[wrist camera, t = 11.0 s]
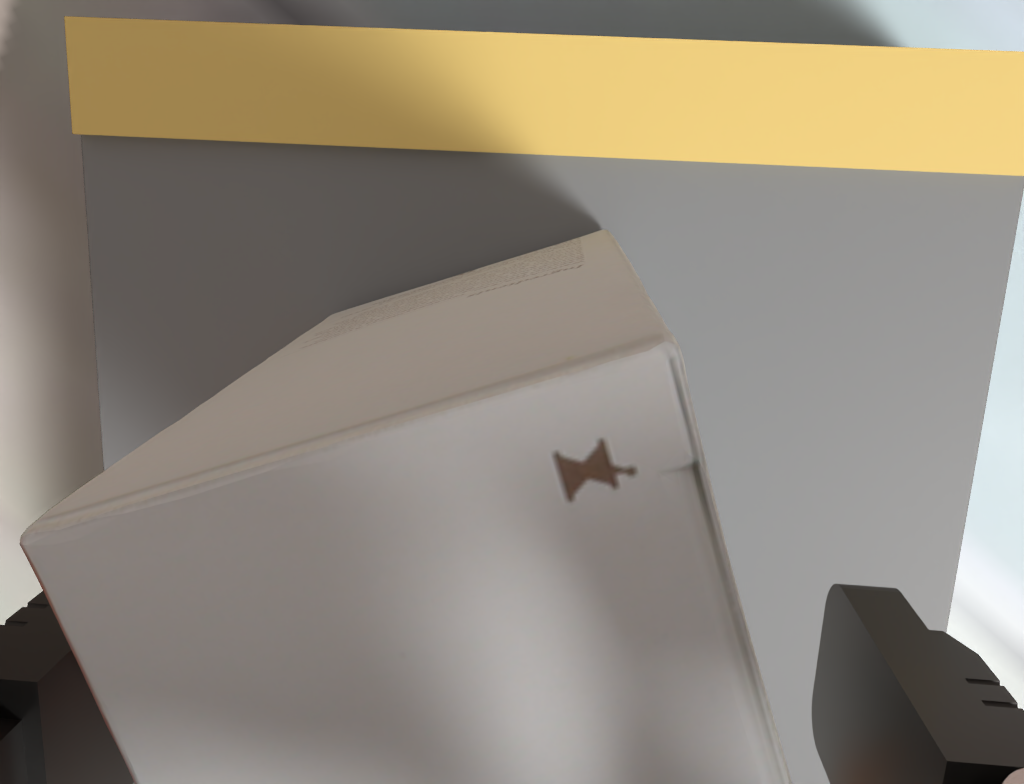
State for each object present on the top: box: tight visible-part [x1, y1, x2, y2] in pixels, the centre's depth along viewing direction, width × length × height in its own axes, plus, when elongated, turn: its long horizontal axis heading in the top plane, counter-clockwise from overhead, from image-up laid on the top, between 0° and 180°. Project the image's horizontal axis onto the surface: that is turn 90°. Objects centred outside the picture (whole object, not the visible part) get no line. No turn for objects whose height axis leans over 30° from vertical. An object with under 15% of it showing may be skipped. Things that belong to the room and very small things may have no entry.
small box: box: [20, 229, 792, 784], centre depth 13 cm, size 8×6×10 cm
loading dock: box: [64, 16, 1024, 784], centre depth 20 cm, size 17×16×5 cm
